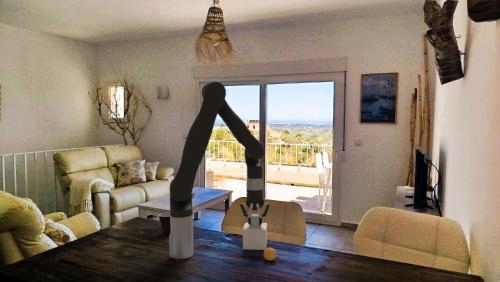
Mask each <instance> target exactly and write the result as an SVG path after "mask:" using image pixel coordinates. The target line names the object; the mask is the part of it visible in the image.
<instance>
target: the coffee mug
mask: <svg viewBox="0 0 500 282" xmlns="http://www.w3.org/2000/svg"><path fill="white" fill-rule="evenodd" d="M158 218H159V225H160V232H161V236H163V235H170V234H171V222H170V211H166V212H165V211H164V212H161V213H159V214H158Z"/></svg>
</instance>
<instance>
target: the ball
mask: <svg viewBox="0 0 500 282" xmlns="http://www.w3.org/2000/svg"><path fill="white" fill-rule="evenodd" d="M263 257H264V259H265V260H266V261H273V260H275V259H276V257H277V252H276V250H275V249H274V248H272V247H266V249H265V250H263Z"/></svg>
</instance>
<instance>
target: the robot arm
mask: <svg viewBox="0 0 500 282" xmlns="http://www.w3.org/2000/svg"><path fill="white" fill-rule="evenodd" d="M226 96H227V89H226V87H225V85H224V83H222V82H221V81H217V80H216V81H210V82H208V83H206V84H205V85H204V86H203V87H202V89H201V97H202V103H201V106H200V110H199V112H198V113H197V115H196V117H195V119H194V120H193V122H192V125H191V126H190V128H189V130H188V133H187V137H186V139H185V141H184V145H183V150H182V153H181V154H182V155H181V158H180V159H181V161H180V165H179V167H178V169H177V172H176V175H175V177H173V179H172V180H171V181H170V183H169V212H170V222H171V234H170V235H169V236H168V238H169V239H168V240H169V243H168V244H169V245H168V247H169V258H173V259H176V260H184V259H185V260H186V259H189V258H191V257H192V256H194V250H195V249H194V218H193V216H194V214H193V212H194V211H193V195H192V193H193V189H194V185H195V180H196V177H197V176H196V175H197V173H198V170H199V168H200V166H201V163H202V161H203V158H204V156H205V153H206V152H207V148H208V146H209V143H210V140H211V137H212V134H213V131H214V126H215V123H216V120H217V117H218V116H219V117H220V118H221V120H222V121H223V122H224V124H225V125H226V127H227V129H228V130H229V131H230V133H231V134H232V135H233V137H234V138H235V139H236V141H237V142H238V144H240V145H241V146H243V147H244V161H245V165H246V183H245V184H246V200H245V202H241V203H240V204H239V206H240V209H241V211H242V215H243V216H244V217H247V223H248V224H249V225H250V226H251V214H253V213H252V212H253V211H257V214H259V226H261V225H262V223H263V218H266V217H267V214H268V211H269V209H270V206H271V205H270V203H269V202H265V200H264V178H263V166H262V165H261V163H260V160H261V159H262V158H264V156H265V149H264V146H263V144H262V143H261V142H260V141H259V140H258V139H257V138H256V137H255V136H254V135H253V134H252V132H251V131H250V129H249V127H248V126H247V124H246V123H245V122H244V120H243V119H241V117H240V116H239V115H238V114H237V113H236V112H235V111H234V109H232V107H231V106H230V105H229V103H228V102H227V100H226ZM246 206H247V208H248V212H247V210H246ZM263 206H264V208H265V209H264V211H263V212H262V208H263Z"/></svg>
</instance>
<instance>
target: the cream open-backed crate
mask: <svg viewBox="0 0 500 282" xmlns="http://www.w3.org/2000/svg"><path fill="white" fill-rule="evenodd" d="M267 246H268V223H267V222H262V225H261V226H259V213H251V226H250V225H249V224H248V222H245V223H244V225H243V228H242V249H243V250H253V251H254V250H259V251H260V250H262V251H265V249H267V248H268V247H267Z"/></svg>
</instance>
